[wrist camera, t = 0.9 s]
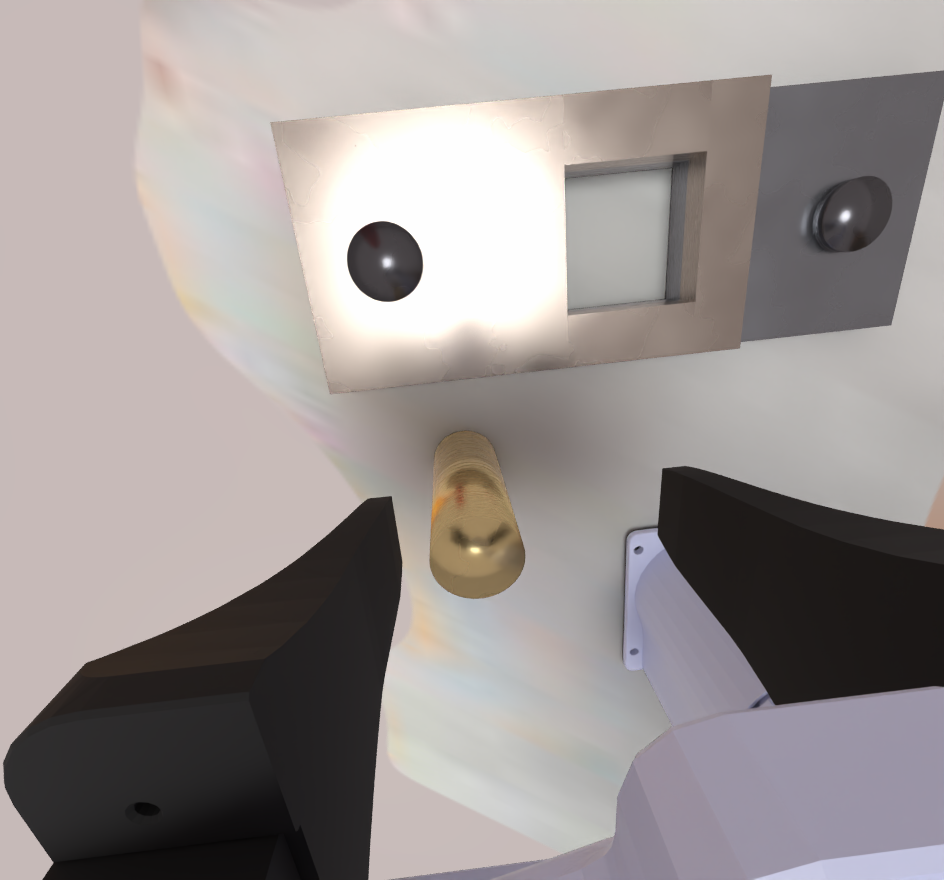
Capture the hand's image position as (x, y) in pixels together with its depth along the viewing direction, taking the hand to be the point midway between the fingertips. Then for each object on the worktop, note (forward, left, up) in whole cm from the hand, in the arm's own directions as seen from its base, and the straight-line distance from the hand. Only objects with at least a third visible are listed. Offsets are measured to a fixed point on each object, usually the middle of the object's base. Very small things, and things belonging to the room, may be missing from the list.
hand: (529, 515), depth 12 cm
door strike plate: (+7, -5, -9) cm, 13 cm away
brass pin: (-2, +2, -10) cm, 10 cm away
